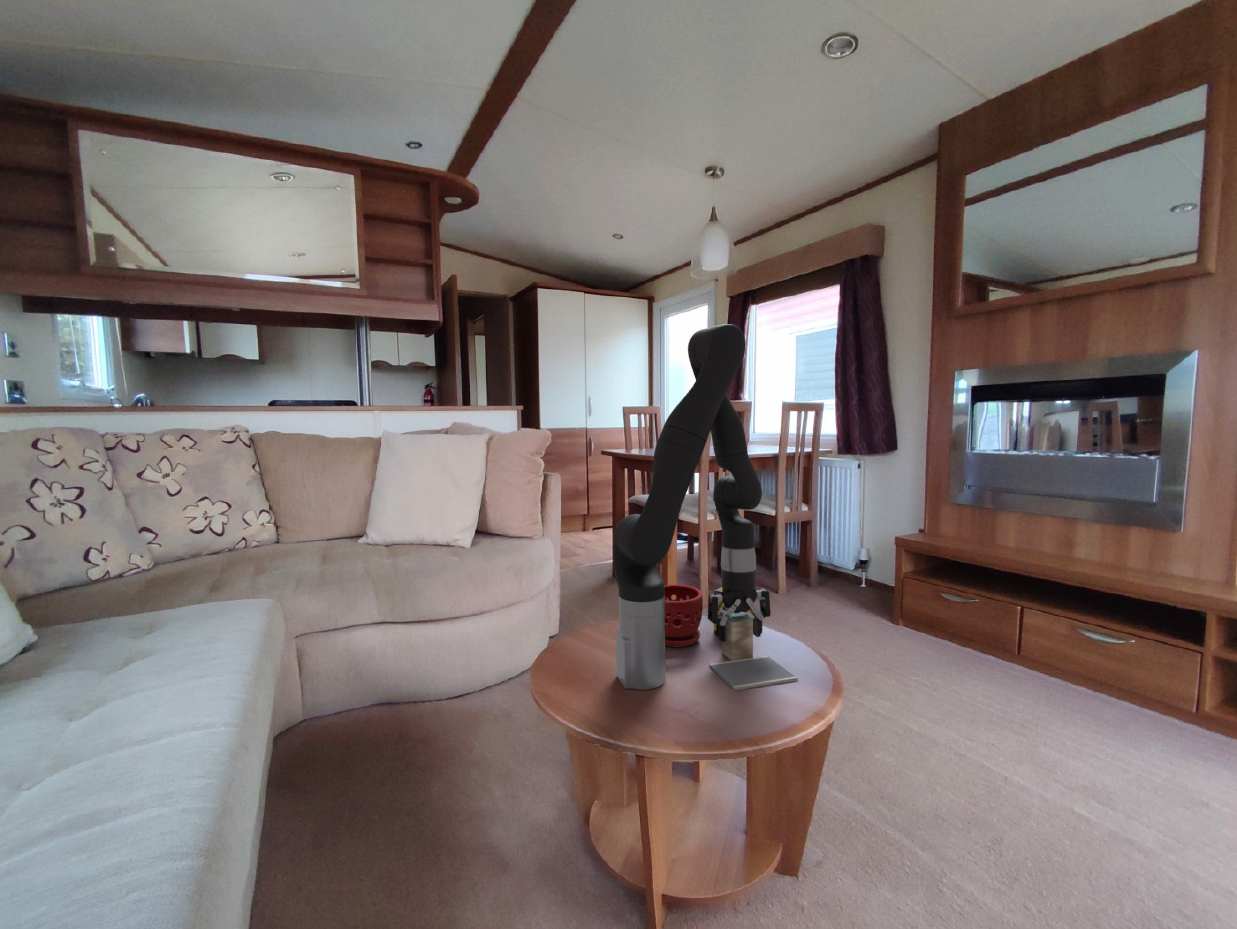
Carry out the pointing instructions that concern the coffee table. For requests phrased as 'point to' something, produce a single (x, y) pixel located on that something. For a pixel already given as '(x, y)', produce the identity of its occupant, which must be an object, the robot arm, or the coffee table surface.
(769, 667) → the felt mat
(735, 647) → the birch block
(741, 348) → the robot arm
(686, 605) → the plant pot
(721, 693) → the coffee table surface
